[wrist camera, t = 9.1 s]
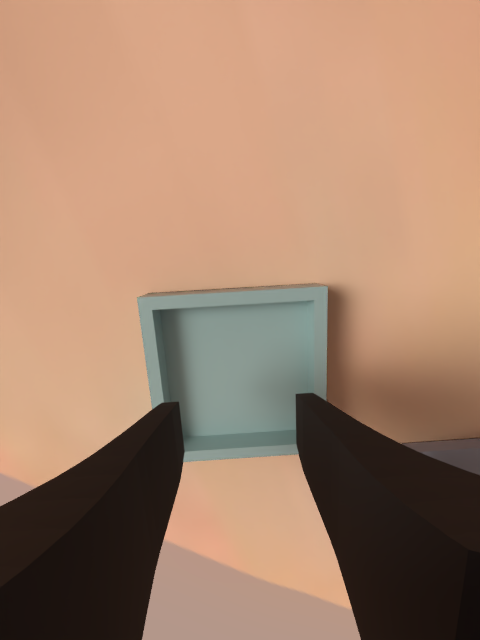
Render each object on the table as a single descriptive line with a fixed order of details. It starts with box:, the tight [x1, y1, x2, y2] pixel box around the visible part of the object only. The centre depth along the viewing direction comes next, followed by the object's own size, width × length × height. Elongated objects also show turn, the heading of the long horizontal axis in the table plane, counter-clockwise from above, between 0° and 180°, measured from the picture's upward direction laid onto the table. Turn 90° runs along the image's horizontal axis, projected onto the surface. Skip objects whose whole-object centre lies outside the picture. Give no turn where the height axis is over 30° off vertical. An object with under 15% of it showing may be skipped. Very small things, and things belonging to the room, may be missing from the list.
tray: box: [137, 283, 328, 462], centre depth 14 cm, size 9×9×2 cm
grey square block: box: [402, 438, 480, 475], centre depth 15 cm, size 6×6×4 cm
